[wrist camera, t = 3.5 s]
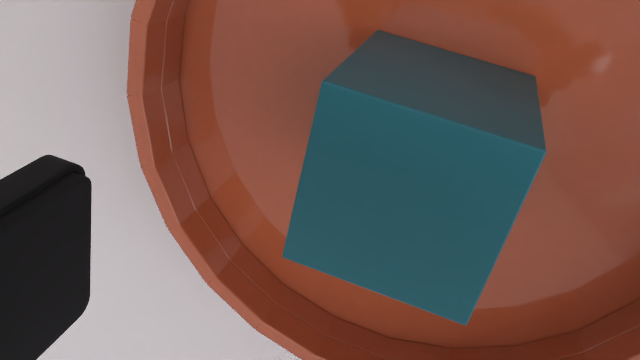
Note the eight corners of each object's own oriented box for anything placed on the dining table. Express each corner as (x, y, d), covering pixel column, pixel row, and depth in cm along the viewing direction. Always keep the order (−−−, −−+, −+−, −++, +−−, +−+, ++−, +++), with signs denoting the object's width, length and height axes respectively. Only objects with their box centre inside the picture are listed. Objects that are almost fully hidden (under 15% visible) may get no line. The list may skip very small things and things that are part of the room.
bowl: (972, -134, 13) (1089, -144, 10) (594, 417, 22) (605, 485, 20) (206, -295, 16) (147, -334, 13) (156, 248, 25) (116, 288, 23)
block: (536, 76, 17) (548, 151, 12) (478, 214, 19) (466, 327, 14) (376, 28, 18) (321, 80, 12) (340, 167, 20) (281, 258, 15)
